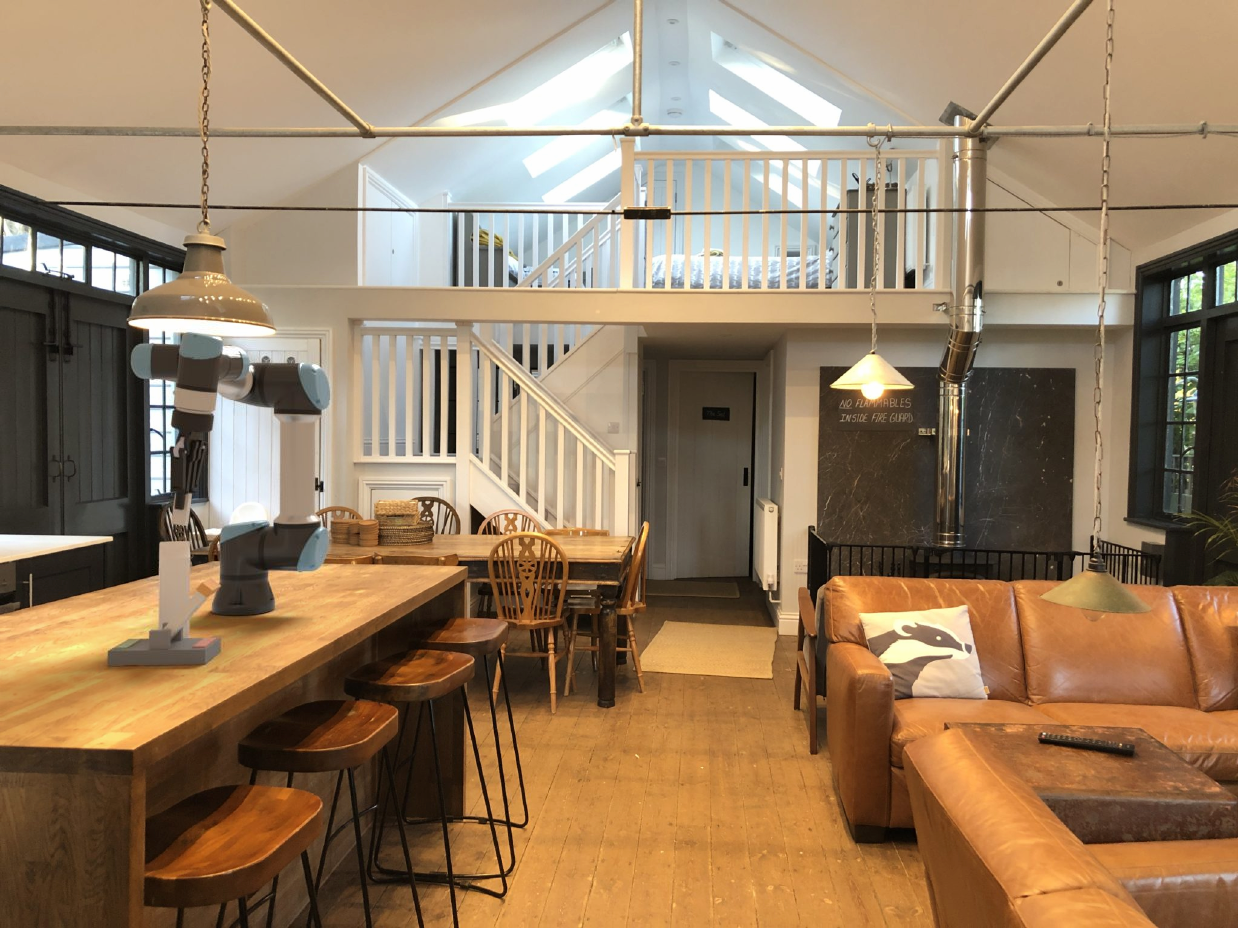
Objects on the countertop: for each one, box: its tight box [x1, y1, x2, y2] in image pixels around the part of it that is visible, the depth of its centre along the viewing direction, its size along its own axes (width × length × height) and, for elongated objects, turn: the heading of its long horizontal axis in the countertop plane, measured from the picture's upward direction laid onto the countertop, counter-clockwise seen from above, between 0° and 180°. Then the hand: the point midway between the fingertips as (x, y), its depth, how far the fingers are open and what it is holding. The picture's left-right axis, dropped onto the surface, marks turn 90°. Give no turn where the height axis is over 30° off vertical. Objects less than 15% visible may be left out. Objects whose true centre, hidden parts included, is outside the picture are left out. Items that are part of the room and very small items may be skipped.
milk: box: [157, 540, 191, 638], centre depth 185 cm, size 6×6×22 cm
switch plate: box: [107, 622, 222, 667], centre depth 170 cm, size 18×10×7 cm, turn 99°
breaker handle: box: [163, 577, 221, 639], centre depth 171 cm, size 3×6×15 cm
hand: (179, 523), depth 171 cm, fingers closed
